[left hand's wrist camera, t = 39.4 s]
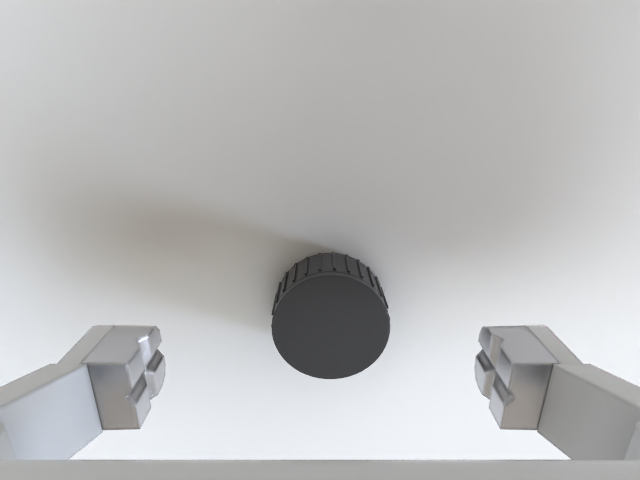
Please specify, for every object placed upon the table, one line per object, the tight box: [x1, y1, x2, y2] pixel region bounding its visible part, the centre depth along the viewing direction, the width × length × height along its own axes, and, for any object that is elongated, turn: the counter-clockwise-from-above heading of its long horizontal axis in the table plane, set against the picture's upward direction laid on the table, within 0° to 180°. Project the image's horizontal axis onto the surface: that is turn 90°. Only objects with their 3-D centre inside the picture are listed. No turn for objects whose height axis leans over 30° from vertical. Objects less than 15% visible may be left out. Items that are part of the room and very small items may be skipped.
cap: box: [271, 252, 390, 379], centre depth 14 cm, size 4×4×2 cm
